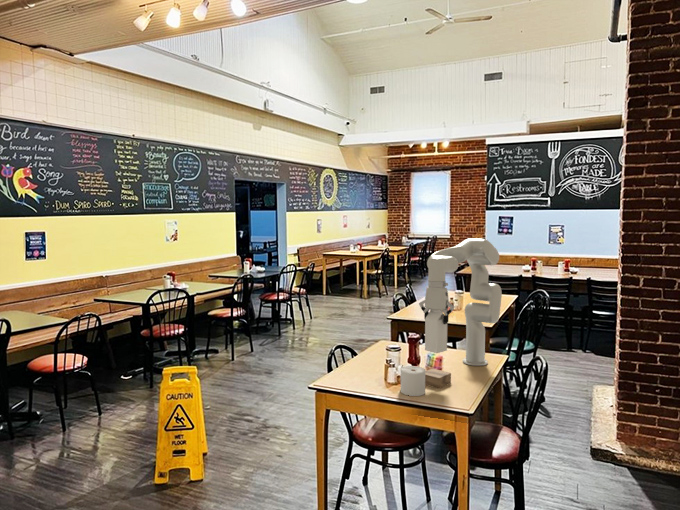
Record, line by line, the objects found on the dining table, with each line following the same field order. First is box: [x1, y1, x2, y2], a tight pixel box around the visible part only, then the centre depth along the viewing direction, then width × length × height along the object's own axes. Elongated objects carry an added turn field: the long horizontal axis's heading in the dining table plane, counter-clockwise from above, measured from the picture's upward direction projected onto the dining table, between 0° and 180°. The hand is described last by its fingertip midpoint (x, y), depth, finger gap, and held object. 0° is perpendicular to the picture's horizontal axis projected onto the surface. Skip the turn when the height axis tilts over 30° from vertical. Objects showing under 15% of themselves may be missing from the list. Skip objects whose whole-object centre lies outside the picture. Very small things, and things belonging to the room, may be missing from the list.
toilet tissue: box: [400, 364, 427, 397], centre depth 216 cm, size 11×12×10 cm
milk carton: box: [424, 309, 448, 354], centre depth 226 cm, size 7×7×19 cm
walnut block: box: [425, 368, 452, 389], centre depth 228 cm, size 10×10×5 cm
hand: (436, 322), depth 226 cm, fingers closed on milk carton, 8 cm apart
